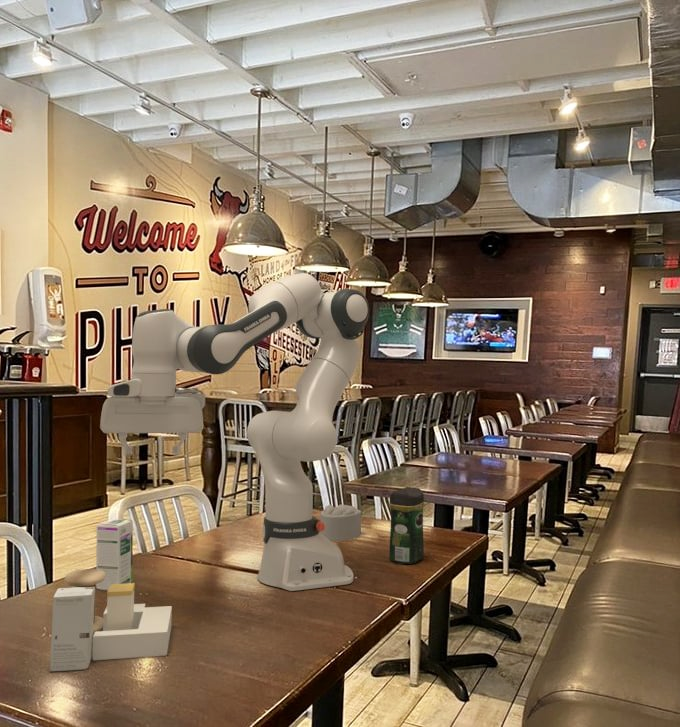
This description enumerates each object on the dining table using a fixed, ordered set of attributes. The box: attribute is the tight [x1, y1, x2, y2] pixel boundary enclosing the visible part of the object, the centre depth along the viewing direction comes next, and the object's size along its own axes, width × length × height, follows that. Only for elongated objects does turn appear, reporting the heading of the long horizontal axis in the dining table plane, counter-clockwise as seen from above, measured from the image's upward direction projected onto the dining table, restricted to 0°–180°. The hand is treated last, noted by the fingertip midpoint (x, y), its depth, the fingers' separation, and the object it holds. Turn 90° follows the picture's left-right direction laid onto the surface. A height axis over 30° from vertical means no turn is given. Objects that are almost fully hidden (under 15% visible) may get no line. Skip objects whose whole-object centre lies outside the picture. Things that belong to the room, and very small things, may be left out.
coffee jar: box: [388, 486, 425, 565], centre depth 166 cm, size 10×8×19 cm
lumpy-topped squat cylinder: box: [319, 504, 362, 542], centre depth 188 cm, size 10×13×9 cm
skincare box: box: [49, 586, 96, 672], centre depth 105 cm, size 6×4×12 cm
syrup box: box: [95, 518, 134, 591], centre depth 143 cm, size 6×6×14 cm
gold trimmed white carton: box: [106, 582, 136, 631], centre depth 113 cm, size 4×4×10 cm
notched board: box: [92, 603, 173, 661], centre depth 115 cm, size 12×14×4 cm
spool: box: [64, 568, 105, 635], centre depth 120 cm, size 7×7×10 cm
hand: (152, 455), depth 131 cm, fingers open, 8 cm apart
